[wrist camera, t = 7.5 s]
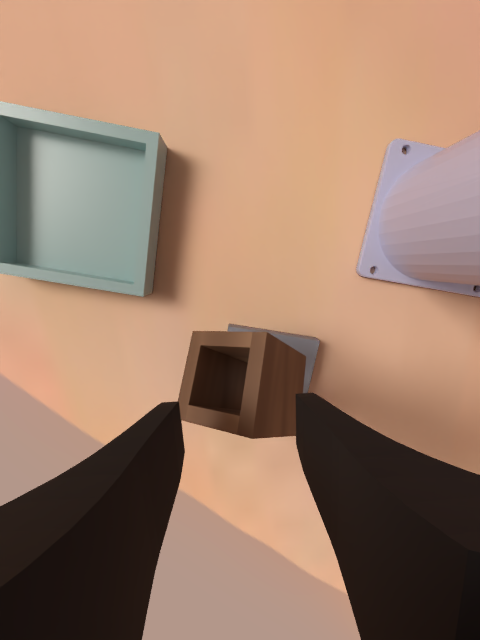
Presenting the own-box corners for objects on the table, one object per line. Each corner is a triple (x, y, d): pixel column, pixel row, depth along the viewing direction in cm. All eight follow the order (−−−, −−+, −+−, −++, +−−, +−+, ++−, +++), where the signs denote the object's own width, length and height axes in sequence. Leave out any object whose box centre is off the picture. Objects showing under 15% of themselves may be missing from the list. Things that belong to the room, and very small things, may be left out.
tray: (167, 147, 16) (159, 133, 14) (152, 293, 17) (143, 296, 16) (14, 117, 15) (-15, 98, 13) (14, 270, 17) (-12, 271, 15)
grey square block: (316, 337, 18) (338, 358, 14) (297, 416, 20) (313, 454, 16) (229, 323, 18) (227, 340, 14) (215, 405, 19) (211, 441, 15)
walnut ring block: (306, 356, 15) (267, 331, 11) (298, 435, 14) (252, 438, 10) (243, 352, 18) (192, 331, 14) (233, 420, 16) (174, 418, 13)
